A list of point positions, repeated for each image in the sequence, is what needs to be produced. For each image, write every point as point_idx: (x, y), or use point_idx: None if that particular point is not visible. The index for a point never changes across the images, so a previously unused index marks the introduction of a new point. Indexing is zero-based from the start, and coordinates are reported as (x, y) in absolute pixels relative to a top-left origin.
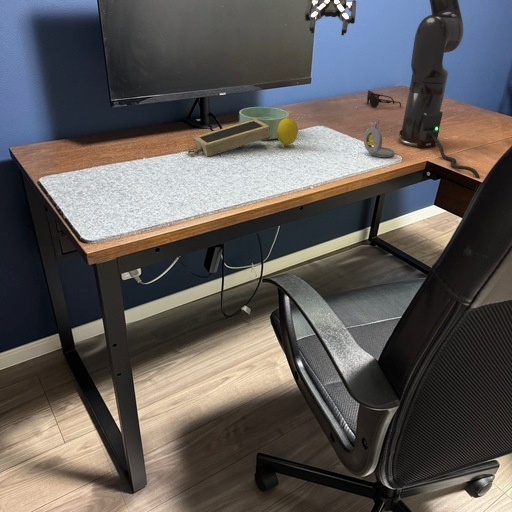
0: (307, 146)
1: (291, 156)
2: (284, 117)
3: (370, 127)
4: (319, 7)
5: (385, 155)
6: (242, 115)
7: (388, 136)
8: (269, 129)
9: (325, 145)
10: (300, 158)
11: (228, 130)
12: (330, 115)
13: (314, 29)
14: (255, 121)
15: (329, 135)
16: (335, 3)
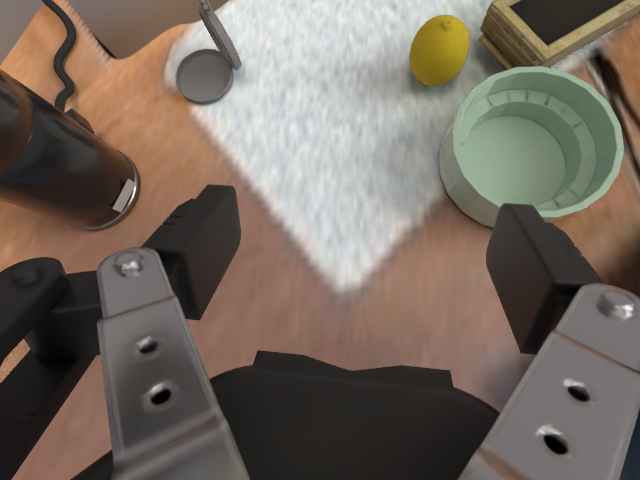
0: (377, 92)
1: (410, 16)
2: (462, 105)
3: (219, 22)
4: (603, 388)
5: (200, 51)
6: (597, 92)
7: None
8: (487, 12)
9: (333, 110)
10: (389, 10)
11: (598, 5)
12: None
13: (497, 290)
14: (540, 40)
15: (321, 197)
16: (239, 452)
